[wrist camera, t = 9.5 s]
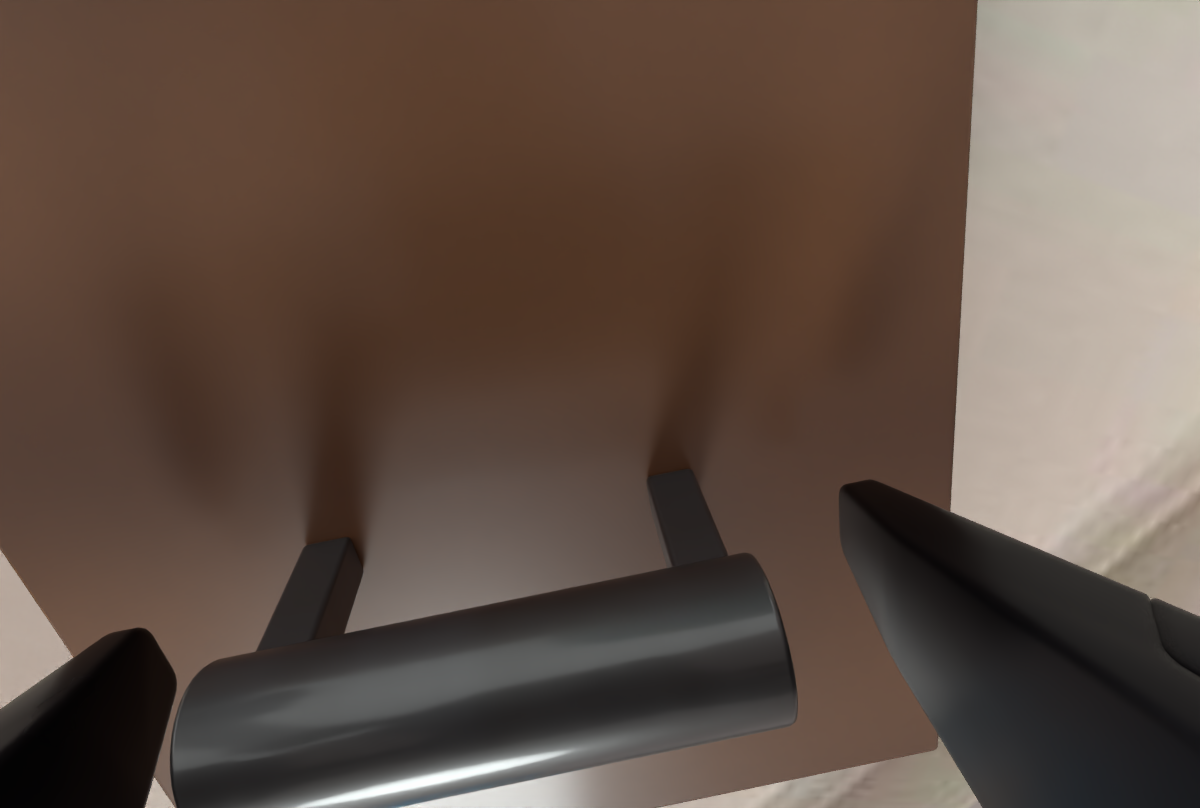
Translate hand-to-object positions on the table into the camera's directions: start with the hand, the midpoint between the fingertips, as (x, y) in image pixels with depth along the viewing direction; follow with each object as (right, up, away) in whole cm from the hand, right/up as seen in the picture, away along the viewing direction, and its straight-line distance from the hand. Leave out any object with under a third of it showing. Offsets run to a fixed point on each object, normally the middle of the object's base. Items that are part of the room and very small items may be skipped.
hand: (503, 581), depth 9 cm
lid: (0, +2, +1) cm, 2 cm away
